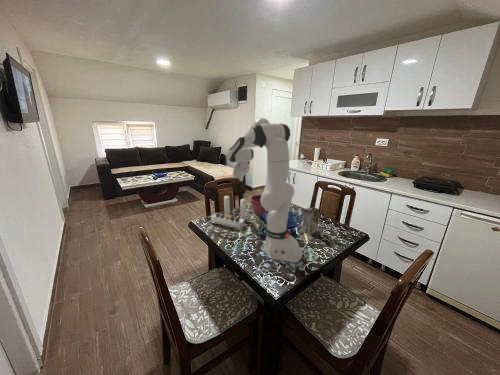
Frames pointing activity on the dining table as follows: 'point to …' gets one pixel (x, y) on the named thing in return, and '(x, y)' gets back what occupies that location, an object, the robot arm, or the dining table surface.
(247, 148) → the robot arm
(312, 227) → the coffee box
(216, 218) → the grey tube rack
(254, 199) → the plant pot
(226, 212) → the cord post far
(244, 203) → the cord post near
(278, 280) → the dining table surface
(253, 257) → the dining table surface
